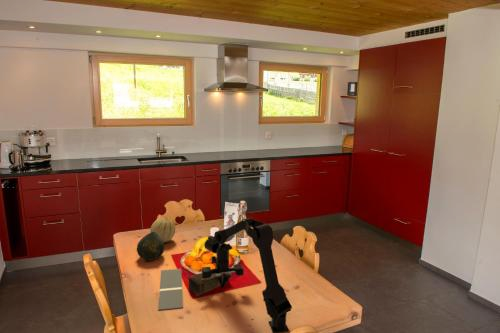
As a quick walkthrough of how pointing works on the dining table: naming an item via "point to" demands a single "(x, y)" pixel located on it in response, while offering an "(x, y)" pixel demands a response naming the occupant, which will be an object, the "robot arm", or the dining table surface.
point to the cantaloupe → (163, 229)
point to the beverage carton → (203, 283)
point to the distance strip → (170, 290)
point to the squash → (150, 247)
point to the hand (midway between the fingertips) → (222, 288)
